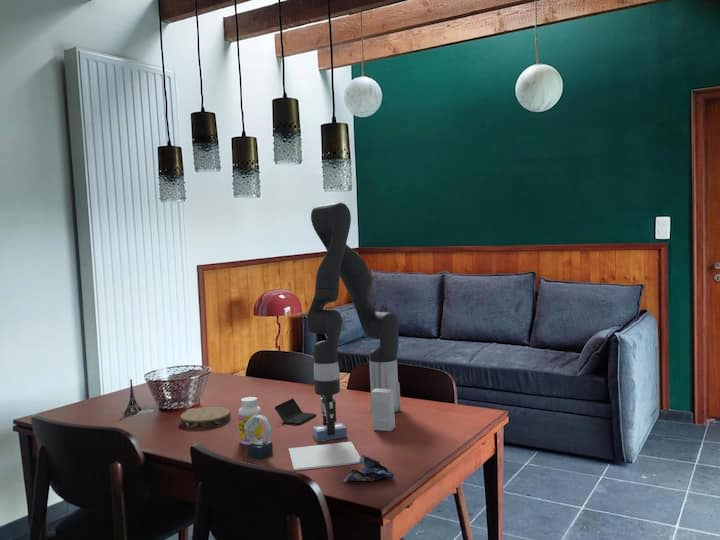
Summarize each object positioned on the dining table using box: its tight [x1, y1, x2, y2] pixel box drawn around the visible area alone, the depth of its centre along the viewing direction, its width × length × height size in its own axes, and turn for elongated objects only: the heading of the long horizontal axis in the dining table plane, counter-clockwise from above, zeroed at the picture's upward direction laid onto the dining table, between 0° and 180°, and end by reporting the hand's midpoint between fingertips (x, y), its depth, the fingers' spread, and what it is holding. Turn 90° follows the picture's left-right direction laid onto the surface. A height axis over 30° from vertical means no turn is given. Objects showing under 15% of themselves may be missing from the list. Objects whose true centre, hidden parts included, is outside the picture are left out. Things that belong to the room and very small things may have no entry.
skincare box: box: [370, 389, 396, 432], centre depth 195 cm, size 6×4×12 cm
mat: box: [287, 441, 362, 472], centre depth 174 cm, size 18×16×1 cm
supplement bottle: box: [237, 396, 263, 446], centre depth 189 cm, size 7×7×13 cm
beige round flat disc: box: [180, 406, 231, 429], centre depth 212 cm, size 16×16×3 cm
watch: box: [244, 414, 274, 460], centre depth 177 cm, size 6×8×11 cm
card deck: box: [312, 422, 348, 442], centre depth 190 cm, size 9×5×3 cm, turn 108°
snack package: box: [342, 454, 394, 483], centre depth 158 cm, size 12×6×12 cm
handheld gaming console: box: [274, 398, 317, 426], centre depth 210 cm, size 12×7×10 cm
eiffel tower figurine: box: [117, 378, 154, 420], centre depth 226 cm, size 15×10×13 cm
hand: (329, 430), depth 190 cm, fingers open, 8 cm apart
